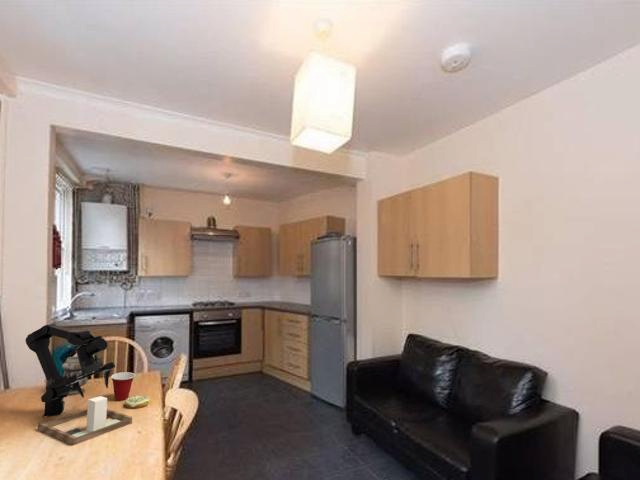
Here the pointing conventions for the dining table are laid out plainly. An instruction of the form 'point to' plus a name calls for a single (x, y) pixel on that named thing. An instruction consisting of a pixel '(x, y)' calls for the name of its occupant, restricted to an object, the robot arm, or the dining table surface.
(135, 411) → the dining table surface
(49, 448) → the dining table surface
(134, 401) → the decorated donut
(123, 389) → the plastic cup
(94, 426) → the pale cream block
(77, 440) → the brown flat frame
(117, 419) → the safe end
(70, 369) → the apothecary jar
